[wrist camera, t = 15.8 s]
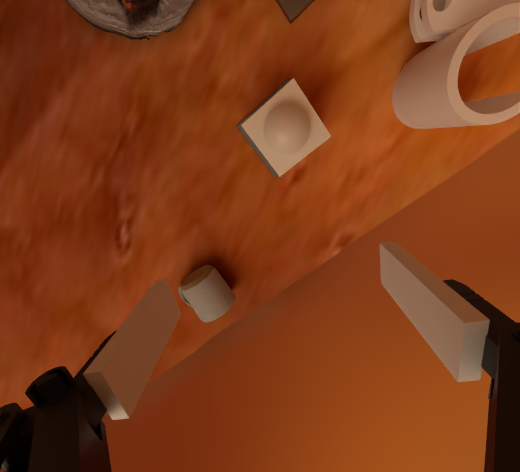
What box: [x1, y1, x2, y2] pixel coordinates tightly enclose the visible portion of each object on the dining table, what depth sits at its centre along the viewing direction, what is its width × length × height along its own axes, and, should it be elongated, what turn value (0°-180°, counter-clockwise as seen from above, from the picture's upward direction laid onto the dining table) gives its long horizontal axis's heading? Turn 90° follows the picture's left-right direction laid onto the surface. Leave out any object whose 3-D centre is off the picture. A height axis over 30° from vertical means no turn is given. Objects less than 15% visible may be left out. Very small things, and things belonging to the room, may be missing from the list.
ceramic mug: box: [178, 265, 235, 322], centre depth 46 cm, size 11×8×8 cm
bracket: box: [392, 0, 520, 129], centre depth 28 cm, size 25×10×12 cm, turn 15°
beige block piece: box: [241, 78, 331, 177], centre depth 34 cm, size 8×8×9 cm
